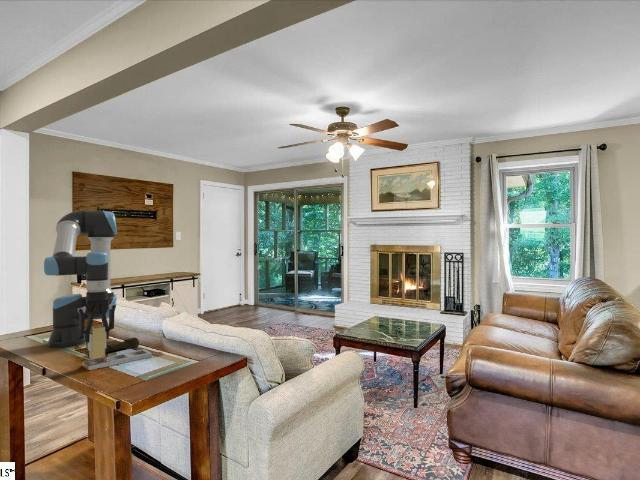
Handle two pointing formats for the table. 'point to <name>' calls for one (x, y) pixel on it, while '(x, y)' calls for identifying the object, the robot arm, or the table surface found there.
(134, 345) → the hand tool
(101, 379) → the table surface
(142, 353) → the triple square frame
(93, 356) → the brass post
